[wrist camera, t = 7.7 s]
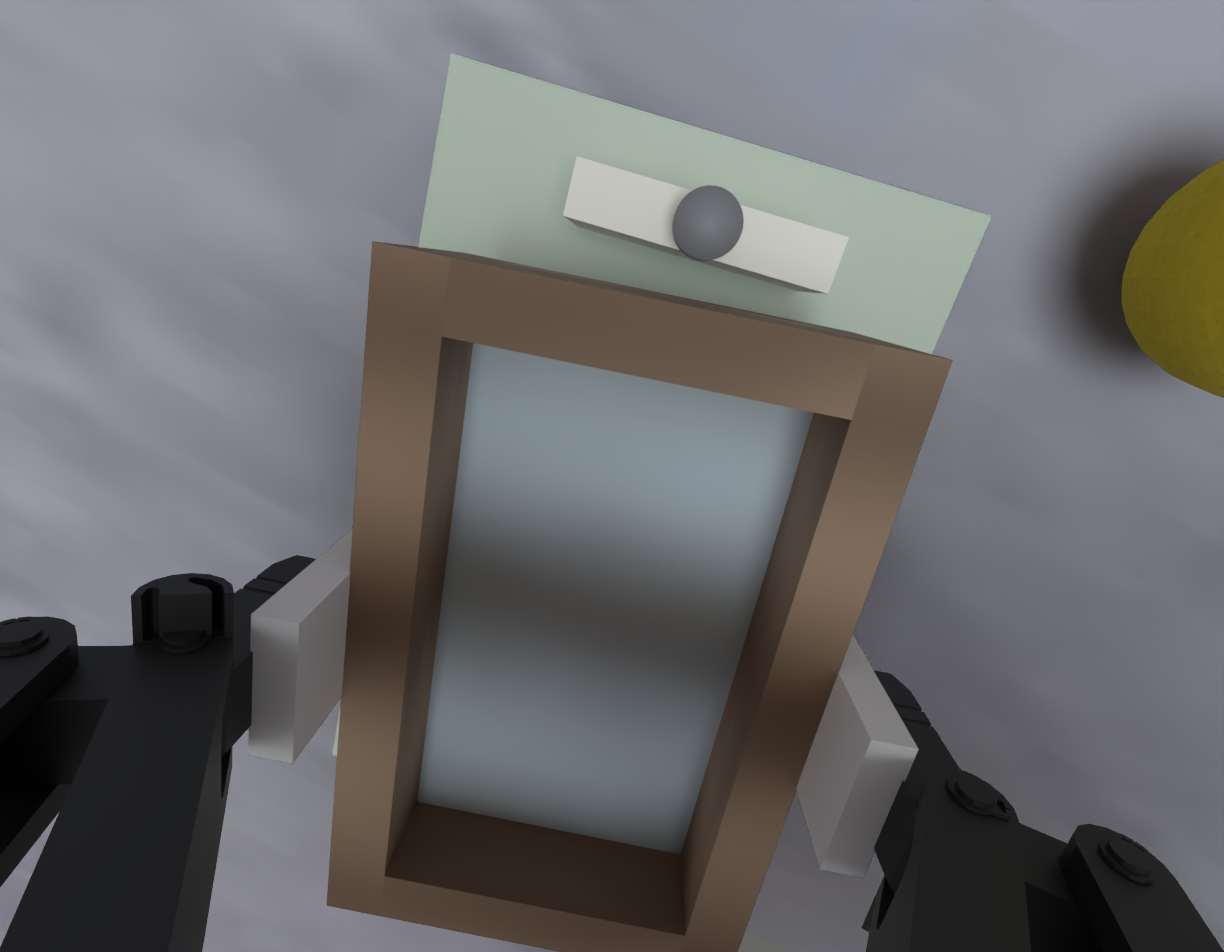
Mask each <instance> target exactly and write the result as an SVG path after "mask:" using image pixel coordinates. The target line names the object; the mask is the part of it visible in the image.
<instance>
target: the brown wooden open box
mask: <svg viewBox="0 0 1224 952" xmlns="http://www.w3.org/2000/svg"><path fill="white" fill-rule="evenodd" d="M952 361H953V360H950V359H947V358H943V357H940V356H936V355H932V354H929V353H925V352H922V351H918V350H914V349H911V348H907V347H904V346H900V345H897V344H893V343H889V342H886V341H882V340H879V339H875V338H872V337H868V336H864V335H861V334H857V333H854V332H850V331H845V330H840V329H835V328H830V327H825V326H820V325H815V324H810V323H806V322H801V321H796V320H791V319H786V318H781V317H776V316H771V315H767V314H762V313H757V312H752V311H747V310H742V309H737V308H732V307H727V306H723V305H718V304H713V303H708V302H703V301H698V300H693V299H688V298H683V297H679V296H674V295H669V294H664V293H659V292H654V291H649V290H644V289H640V288H635V287H630V286H625V285H620V284H615V283H610V282H605V281H600V280H596V279H591V278H586V277H581V276H576V275H571V274H566V273H561V272H557V271H552V270H547V269H542V268H537V267H532V266H527V265H522V264H517V263H513V262H508V261H503V260H498V259H493V258H488V257H483V256H478V255H473V254H469V253H463V252H455V251H447V250H438V249H430V248H422V247H414V246H406V245H398V244H389V243H381V242H373V241H372V254H371V269H370V283H369V298H368V312H367V327H366V342H365V356H364V371H363V385H362V400H361V414H360V429H359V443H358V458H357V472H356V487H355V501H354V516H353V530H352V545H351V559H350V586H349V600H348V614H347V628H346V643H345V657H344V671H343V685H342V697H341V705H340V719H339V734H338V748H337V763H336V777H335V792H334V806H333V821H332V835H331V850H330V865H329V879H328V894H327V906H332V907H337V908H342V909H347V910H352V911H357V912H362V913H367V914H372V915H377V916H382V917H387V918H393V919H398V920H403V921H408V922H413V923H418V924H423V925H428V926H433V927H438V928H443V929H448V930H453V931H458V932H463V933H468V934H473V935H478V936H483V937H488V938H493V939H498V940H503V941H508V942H513V943H519V944H524V945H529V946H534V947H539V948H544V949H549V950H554V951H559V952H738V949H739V946H740V944H741V941H742V938H743V935H744V933H745V930H746V927H747V924H748V922H749V919H750V916H751V913H752V911H753V908H754V905H755V902H756V900H757V897H758V894H759V891H760V889H761V886H762V883H763V880H764V878H765V875H766V872H767V869H768V867H769V864H770V861H771V858H772V856H773V853H774V850H775V847H776V845H777V842H778V839H779V836H780V834H781V831H782V828H783V825H784V823H785V820H786V817H787V814H788V812H789V809H790V806H791V803H792V801H793V798H794V795H795V792H796V790H797V789H796V787H797V785H798V782H799V779H800V776H801V774H802V771H803V768H804V766H805V763H806V760H807V757H808V755H809V752H810V749H811V746H812V744H813V741H814V738H815V735H816V733H817V730H818V727H819V724H820V722H821V719H822V716H823V713H824V711H825V708H826V705H827V703H828V700H829V697H830V694H831V692H832V689H833V686H834V683H835V681H836V678H837V675H838V672H839V671H840V669H841V666H842V663H843V660H844V658H845V655H846V652H847V649H848V647H849V644H850V641H851V638H852V636H853V633H854V630H855V627H856V625H857V622H858V619H859V616H860V614H861V611H862V608H863V605H864V603H865V600H866V597H867V594H868V592H869V589H870V586H871V583H872V581H873V578H874V575H875V573H876V570H877V567H878V564H879V562H880V559H881V556H882V553H883V551H884V548H885V545H886V542H887V540H888V537H889V534H890V531H891V529H892V526H893V523H894V520H895V518H896V515H897V512H898V509H899V507H900V504H901V501H902V498H903V496H904V493H905V490H906V487H907V485H908V482H909V479H910V476H911V474H912V471H913V468H914V465H915V463H916V460H917V457H918V454H919V452H920V449H921V446H922V443H923V441H924V438H925V435H926V432H927V430H928V427H929V424H930V421H931V419H932V416H933V413H934V410H935V408H936V405H937V402H938V399H939V397H940V394H941V391H942V388H943V386H944V383H945V380H946V377H947V375H948V372H949V369H950V366H951V364H952Z"/></svg>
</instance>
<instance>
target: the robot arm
mask: <svg viewBox="0 0 1224 952" xmlns="http://www.w3.org/2000/svg"><path fill="white" fill-rule="evenodd" d="M352 530H353V529H351V530H350V531H349V532H348V533H347V534H345V535H344V536H343V537H342V538H341V539H339V540H338V541H337V542H336V543H335V544H334V545H332V546H331V547H330V548H329V549H328V550H326V551H325V552H324V553H323V554H322V555H321V556H319V557H318V558H317V559H313V558H308V557H303V556H298V555H296V556H293V557H291V558H288V559H285V560H282V561H280V562H277V563H274V564H272V565H271V566H270V567H268V568H267V569H266V570H265V571H263V572H262V573H261V574H259V575H258V576H257V578H256V579H253V580H251V581H250V582H249V583H247V584H246V585H245V586H244V588H243V589H240V590H238V591H237V592H236V593H234V592H233V587H232V584H230V583H229V582H228V581H226V580H225V579H224V578H220V577H217V576H213V575H210V574H195V573H189V574H179V575H171V576H167V577H163V578H160V579H156V580H153V581H151V582H149V583H147V584H145V585H143V586H141V587H139V588H138V589H137V590H136V591H135V592H134V593H133V594H132V595H131V606H132V627H133V645H129V646H78V645H77V634H76V629H75V626H74V625H73V624H71V623H69V622H68V621H66V620H64V619H58V618H53V617H21V618H18V619H15V618H14V619H10V620H5V621H2V622H0V887H1V886H2V884H3V883H4V882H5V881H6V879H7V878H8V877H9V875H10V874H11V873H12V872H13V870H14V869H15V868H16V866H17V865H18V864H19V863H20V861H21V860H22V859H23V857H24V856H25V855H26V854H27V852H28V851H29V850H30V848H31V847H32V846H33V845H34V843H35V842H36V841H37V839H38V838H39V837H40V836H41V834H42V833H43V832H44V830H45V829H46V828H47V827H48V825H49V824H50V823H51V821H52V820H53V819H54V818H55V816H56V815H57V814H58V812H59V811H60V812H59V814H58V817H57V819H56V821H55V823H54V826H53V828H52V830H51V833H50V835H49V837H48V839H47V842H46V844H45V846H44V849H43V851H42V853H41V855H40V858H39V860H38V862H37V865H36V867H35V869H34V871H33V874H32V876H31V878H30V881H29V883H28V885H27V888H26V890H25V892H24V894H23V897H22V899H21V901H20V904H19V906H18V908H17V910H16V913H15V915H14V917H13V920H12V922H11V924H10V926H9V929H8V931H7V933H6V936H5V938H4V940H3V942H2V945H1V947H0V952H202V949H203V943H204V937H205V931H206V924H207V918H208V912H209V906H210V900H211V893H212V887H213V881H214V875H215V869H216V862H217V856H218V850H219V844H220V838H221V831H222V825H223V819H224V813H225V807H226V800H227V794H228V788H229V782H230V776H231V770H232V746H233V745H234V744H235V742H236V741H237V740H238V739H239V738H240V737H241V736H242V735H243V733H244V732H245V731H246V730H247V729H248V728H249V743H248V755H252V756H257V757H262V758H267V759H272V760H277V761H282V762H287V763H292V764H293V762H294V761H295V760H296V758H297V757H298V756H299V754H300V753H301V752H302V750H303V749H304V747H305V746H306V745H307V743H308V742H309V741H310V739H311V738H312V737H313V735H314V734H315V732H316V731H317V730H318V728H319V727H320V726H321V724H322V723H323V722H324V720H325V719H326V717H327V716H328V715H329V713H330V712H331V711H332V709H333V708H334V707H335V705H336V704H337V702H338V701H339V700H340V698H341V697H342V685H343V671H344V657H345V643H346V628H347V614H348V600H349V586H350V559H351V545H352ZM796 789H797V793H798V796H799V800H800V803H801V807H802V810H803V813H804V817H805V820H806V824H807V827H808V831H809V834H810V838H811V841H812V845H813V848H814V851H815V855H816V858H817V862H818V865H819V869H820V870H825V871H830V872H835V873H840V874H844V875H849V876H854V877H859V878H864V876H865V874H866V871H867V869H868V867H869V864H870V862H871V860H872V857H873V855H874V853H875V852H876V854H877V857H878V859H879V862H880V864H881V867H882V870H883V872H884V878H883V880H882V882H881V885H880V887H879V889H878V891H877V894H876V896H875V898H874V900H873V903H872V905H871V907H870V910H869V912H868V914H867V916H866V919H865V921H864V923H863V925H862V928H863V929H864V930H866V931H868V932H869V930H870V932H869V938H868V943H867V949H866V952H1224V951H1223V949H1222V948H1221V946H1220V945H1219V943H1218V942H1217V940H1216V939H1215V937H1214V936H1213V934H1212V933H1211V931H1210V930H1209V928H1208V927H1207V925H1206V924H1205V922H1204V921H1203V919H1202V918H1201V916H1200V915H1199V913H1198V912H1197V910H1196V909H1195V907H1194V906H1193V904H1192V903H1191V901H1190V899H1189V898H1188V896H1187V895H1186V893H1185V892H1184V890H1183V889H1182V887H1181V886H1180V884H1179V883H1178V881H1177V880H1176V879H1175V877H1174V876H1173V875H1172V874H1171V873H1170V872H1169V870H1168V869H1167V868H1166V867H1165V866H1164V865H1163V864H1162V863H1161V862H1160V861H1159V860H1158V859H1157V858H1155V857H1154V856H1153V855H1152V854H1151V853H1149V852H1148V851H1147V850H1146V849H1145V848H1144V847H1143V846H1141V845H1140V844H1138V843H1137V842H1133V840H1132V839H1130V838H1128V837H1126V836H1125V835H1122V834H1119V833H1117V832H1114V831H1112V830H1110V829H1108V828H1105V827H1101V826H1096V825H1092V824H1086V825H1080V826H1078V827H1077V829H1076V830H1075V832H1074V833H1073V835H1072V837H1071V839H1070V841H1069V843H1068V844H1067V843H1065V842H1062V841H1060V840H1058V839H1055V838H1053V837H1051V836H1048V835H1046V834H1044V833H1041V832H1039V831H1036V830H1034V829H1032V828H1029V827H1027V826H1025V825H1023V824H1021V823H1019V820H1018V818H1017V815H1016V812H1015V810H1014V808H1013V807H1012V806H1011V804H1010V803H1009V802H1008V801H1007V800H1006V798H1005V797H1004V796H1003V795H1002V794H1001V793H999V792H998V791H997V790H996V789H995V788H993V787H992V786H991V785H990V784H988V783H987V782H985V781H983V780H981V779H980V778H978V777H976V776H975V775H973V774H970V773H968V772H965V771H962V770H960V769H959V767H958V765H957V764H956V762H955V761H954V759H953V757H952V756H951V754H950V753H949V751H948V750H947V748H946V746H945V745H944V743H943V742H942V740H941V739H940V737H939V735H938V734H937V732H936V731H935V729H934V728H933V727H931V723H930V721H929V720H928V718H927V717H926V715H925V713H924V712H921V707H920V706H919V704H918V702H917V701H916V699H915V698H914V696H913V695H912V693H911V691H910V690H909V689H907V688H906V687H905V686H904V685H903V684H902V683H901V682H900V681H898V680H897V679H896V678H895V677H894V676H893V675H892V674H889V673H884V672H879V671H874V670H873V669H872V667H871V665H870V664H869V662H868V660H867V658H866V657H865V655H864V653H863V651H862V650H861V648H860V646H859V644H858V643H857V641H856V639H855V637H854V636H852V638H851V641H850V644H849V647H848V649H847V652H846V655H845V658H844V660H843V663H842V666H841V669H840V671H839V672H838V675H837V678H836V681H835V683H834V686H833V689H832V692H831V694H830V697H829V700H828V703H827V705H826V708H825V711H824V713H823V716H822V719H821V722H820V724H819V727H818V730H817V733H816V735H815V738H814V741H813V744H812V746H811V749H810V752H809V755H808V757H807V760H806V763H805V766H804V768H803V771H802V774H801V776H800V779H799V782H798V785H797V787H796Z"/></svg>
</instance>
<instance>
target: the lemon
mask: <svg viewBox="0 0 1224 952" xmlns="http://www.w3.org/2000/svg"><path fill="white" fill-rule="evenodd" d="M1121 302H1122V307H1123V311H1124V315H1125V320H1126V324H1127V326H1128V328H1129V330H1130V331H1131V333H1132V335H1133V337H1134V338H1135V340H1136V342H1137V343H1138V345H1139V347H1140V349H1141V350H1142V351H1143V352H1144V353H1145V354H1146V355H1148V356H1149V357H1150V358H1151V359H1152V360H1153V361H1154V362H1156V363H1157V364H1158V365H1159V366H1160V367H1161V368H1162V369H1164V370H1165V371H1166V372H1168V373H1169V374H1171V375H1172V376H1174V377H1176V378H1178V379H1180V380H1182V381H1184V382H1187V383H1189V384H1191V385H1193V386H1196V387H1198V388H1200V389H1202V390H1205V391H1207V392H1209V393H1211V394H1214V395H1217V396H1220V397H1223V398H1224V160H1222V161H1220V162H1218V163H1216V164H1214V165H1213V166H1211V167H1209V168H1207V169H1206V170H1204V171H1203V172H1202V173H1200V174H1199V175H1198V176H1196V177H1195V178H1194V179H1192V180H1191V181H1190V182H1189V183H1187V184H1186V185H1185V186H1183V187H1182V188H1181V189H1180V190H1178V191H1177V192H1176V193H1175V194H1173V195H1172V196H1171V197H1170V198H1169V199H1168V200H1167V201H1166V202H1165V203H1164V204H1163V205H1162V207H1161V208H1160V209H1159V210H1158V211H1157V212H1156V214H1155V215H1154V216H1153V217H1152V218H1151V219H1150V220H1149V222H1148V223H1147V224H1146V225H1145V226H1144V228H1143V230H1142V231H1141V233H1140V235H1139V237H1138V238H1137V240H1136V242H1135V244H1134V246H1133V247H1132V249H1131V251H1130V254H1129V257H1128V260H1127V263H1126V267H1125V270H1124V273H1123V277H1122V296H1121Z"/></svg>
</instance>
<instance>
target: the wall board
mask: <svg viewBox="0 0 1224 952" xmlns="http://www.w3.org/2000/svg"><path fill="white" fill-rule="evenodd" d="M991 217H992V216H990V215H986V214H983V213H980V212H976V211H973V210H970V209H966V208H963V207H960V206H956V205H953V204H950V203H946V202H943V201H940V200H936V199H933V198H930V197H926V196H923V195H920V194H917V193H913V192H910V191H907V190H903V189H900V188H897V187H893V186H890V185H887V184H883V183H880V182H877V181H873V180H870V179H867V178H863V177H860V176H857V175H853V174H850V173H847V172H844V171H840V170H837V169H834V168H830V167H827V166H824V165H820V164H817V163H814V162H810V161H807V160H804V159H800V158H797V157H794V156H790V155H787V154H784V153H780V152H777V151H774V150H771V149H767V148H764V147H761V146H757V145H754V144H751V143H747V142H744V141H741V140H737V139H734V138H731V137H727V136H724V135H721V134H717V133H714V132H711V131H707V130H704V129H701V128H698V127H694V126H691V125H688V124H684V123H681V122H678V121H674V120H671V119H668V118H664V117H661V116H658V115H654V114H651V113H648V112H644V111H641V110H638V109H634V108H631V107H628V106H624V105H621V104H618V103H615V102H611V101H608V100H605V99H601V98H598V97H595V96H591V95H588V94H585V93H581V92H578V91H575V90H571V89H568V88H565V87H561V86H558V85H555V84H551V83H548V82H545V81H542V80H538V79H535V78H532V77H528V76H525V75H522V74H518V73H515V72H512V71H508V70H505V69H502V68H498V67H495V66H492V65H488V64H485V63H482V62H478V61H475V60H472V59H469V58H465V57H462V56H459V55H455V54H452V53H451V56H450V62H449V68H448V74H447V80H446V85H445V91H444V97H443V103H442V109H441V115H440V121H439V127H438V133H437V139H436V144H435V150H434V156H433V162H432V168H431V174H430V180H429V186H428V192H427V197H426V203H425V209H424V215H423V221H422V227H421V233H420V239H419V245H418V247H422V248H430V249H438V250H447V251H455V252H463V253H469V254H473V255H478V256H483V257H488V258H493V259H498V260H503V261H508V262H513V263H517V264H522V265H527V266H532V267H537V268H542V269H547V270H552V271H557V272H561V273H566V274H571V275H576V276H581V277H586V278H591V279H596V280H600V281H605V282H610V283H615V284H620V285H625V286H630V287H635V288H640V289H644V290H649V291H654V292H659V293H664V294H669V295H674V296H679V297H683V298H688V299H693V300H698V301H703V302H708V303H713V304H718V305H723V306H727V307H732V308H737V309H742V310H747V311H752V312H757V313H762V314H767V315H771V316H776V317H781V318H786V319H791V320H796V321H801V322H806V323H810V324H815V325H820V326H825V327H830V328H835V329H840V330H845V331H850V332H854V333H857V334H861V335H864V336H868V337H872V338H875V339H879V340H882V341H886V342H889V343H893V344H897V345H900V346H904V347H907V348H911V349H914V350H918V351H922V352H925V353H929V354H932V352H933V350H934V348H935V345H936V343H937V341H938V338H939V336H940V334H941V332H942V329H943V327H944V325H945V322H946V320H947V318H948V315H949V313H950V311H951V309H952V306H953V304H954V302H955V299H956V297H957V295H958V292H959V290H960V288H961V286H962V283H963V281H964V279H965V276H966V274H967V272H968V269H969V267H970V265H971V263H972V260H973V258H974V256H975V253H976V251H977V249H978V246H979V244H980V242H981V240H982V237H983V235H984V233H985V230H986V228H987V226H988V223H989V221H990V219H991ZM339 719H340V710H339V716H338V722H337V728H336V734H335V740H334V746H333V752H332V755H335V756H337V748H338V734H339Z"/></svg>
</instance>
